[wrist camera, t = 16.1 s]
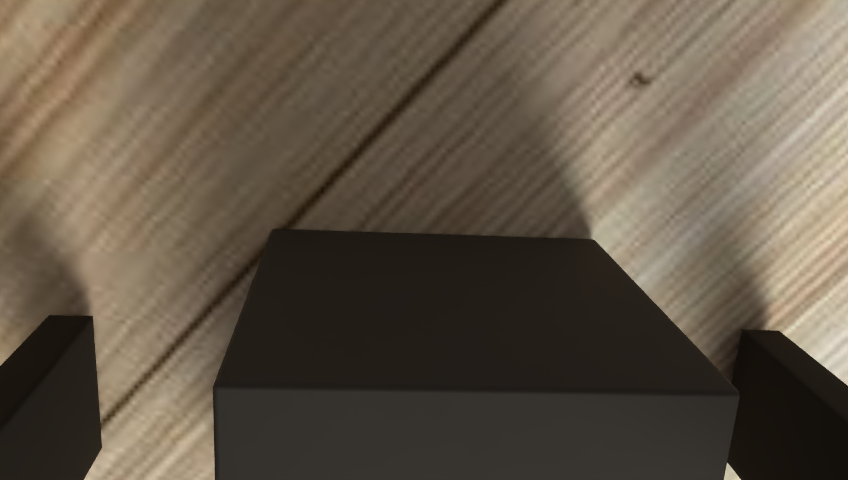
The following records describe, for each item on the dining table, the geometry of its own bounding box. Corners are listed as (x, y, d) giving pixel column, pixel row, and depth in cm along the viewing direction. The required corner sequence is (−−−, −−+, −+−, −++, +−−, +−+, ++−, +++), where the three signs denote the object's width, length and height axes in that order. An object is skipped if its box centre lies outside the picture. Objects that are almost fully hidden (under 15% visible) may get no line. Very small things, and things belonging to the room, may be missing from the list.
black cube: (595, 238, 15) (743, 392, 9) (560, 511, 17) (666, 784, 11) (271, 227, 14) (211, 384, 9) (271, 511, 16) (221, 798, 10)
